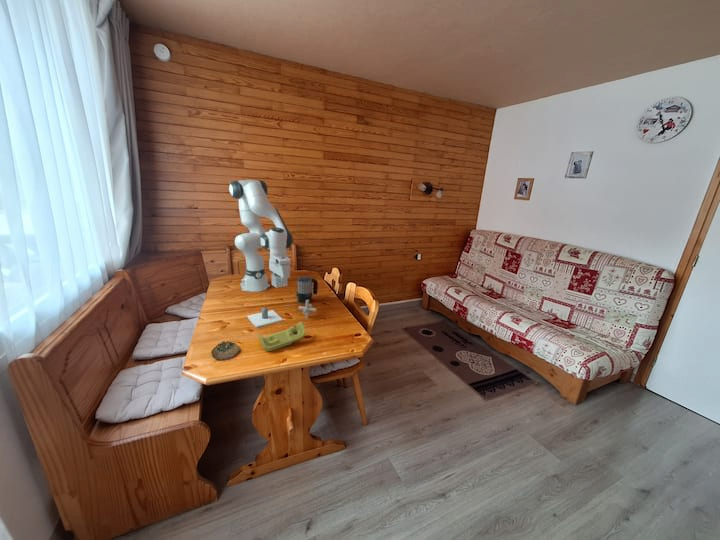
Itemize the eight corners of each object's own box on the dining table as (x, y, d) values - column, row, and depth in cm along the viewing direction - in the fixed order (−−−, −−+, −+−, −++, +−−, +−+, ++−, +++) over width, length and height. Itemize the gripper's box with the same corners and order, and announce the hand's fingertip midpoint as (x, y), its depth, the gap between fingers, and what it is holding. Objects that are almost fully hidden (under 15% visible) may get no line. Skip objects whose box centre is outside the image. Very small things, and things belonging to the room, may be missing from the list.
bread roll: (213, 347, 121) (214, 337, 119) (241, 347, 124) (242, 337, 123) (208, 362, 111) (209, 352, 109) (238, 362, 114) (239, 352, 113)
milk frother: (305, 304, 168) (305, 282, 164) (286, 299, 176) (285, 277, 171) (319, 297, 180) (320, 276, 176) (301, 292, 188) (301, 271, 183)
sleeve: (271, 284, 156) (271, 274, 154) (282, 282, 160) (282, 272, 158) (276, 287, 151) (275, 277, 149) (287, 285, 155) (287, 275, 154)
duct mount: (247, 317, 149) (246, 307, 147) (272, 311, 157) (272, 301, 156) (256, 327, 138) (255, 317, 137) (282, 320, 147) (282, 310, 145)
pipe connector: (312, 322, 147) (312, 305, 144) (295, 319, 149) (294, 302, 146) (319, 314, 156) (319, 298, 154) (302, 312, 158) (302, 296, 155)
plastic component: (265, 349, 117) (258, 331, 123) (265, 358, 122) (258, 340, 127) (308, 335, 127) (300, 318, 133) (307, 344, 132) (299, 328, 138)
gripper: (265, 254, 157) (266, 277, 161) (280, 262, 142) (281, 287, 146) (276, 253, 161) (277, 275, 165) (292, 261, 146) (292, 285, 150)
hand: (279, 281), depth 155 cm, fingers closed on sleeve, 7 cm apart
